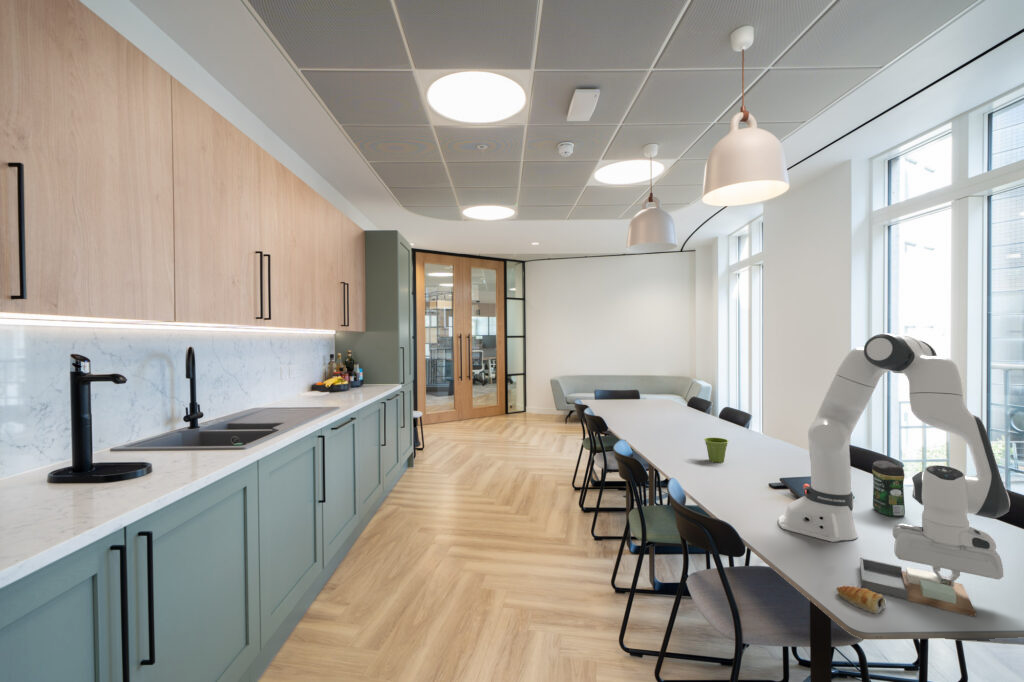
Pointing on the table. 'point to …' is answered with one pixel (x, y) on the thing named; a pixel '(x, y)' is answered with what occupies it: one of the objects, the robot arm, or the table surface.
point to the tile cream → (920, 576)
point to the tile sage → (937, 591)
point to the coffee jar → (888, 488)
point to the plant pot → (716, 449)
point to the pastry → (862, 598)
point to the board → (961, 605)
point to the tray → (883, 578)
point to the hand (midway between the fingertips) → (945, 584)
